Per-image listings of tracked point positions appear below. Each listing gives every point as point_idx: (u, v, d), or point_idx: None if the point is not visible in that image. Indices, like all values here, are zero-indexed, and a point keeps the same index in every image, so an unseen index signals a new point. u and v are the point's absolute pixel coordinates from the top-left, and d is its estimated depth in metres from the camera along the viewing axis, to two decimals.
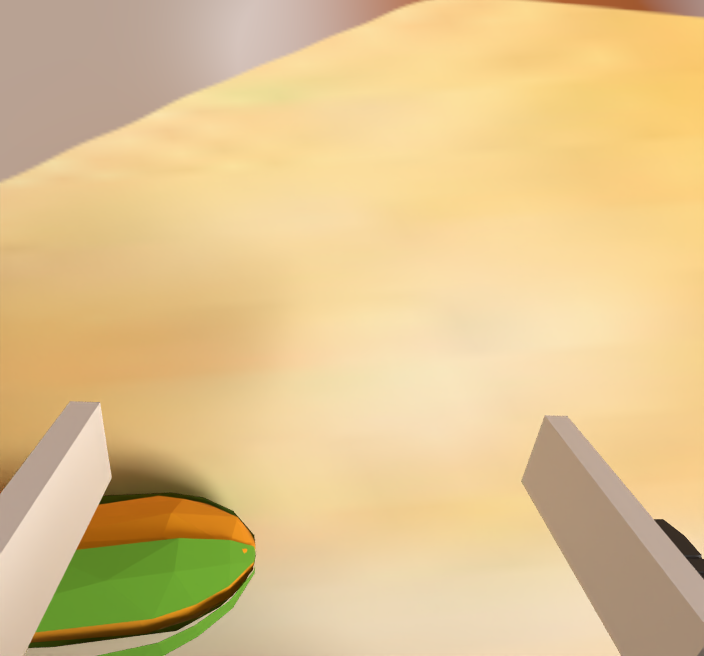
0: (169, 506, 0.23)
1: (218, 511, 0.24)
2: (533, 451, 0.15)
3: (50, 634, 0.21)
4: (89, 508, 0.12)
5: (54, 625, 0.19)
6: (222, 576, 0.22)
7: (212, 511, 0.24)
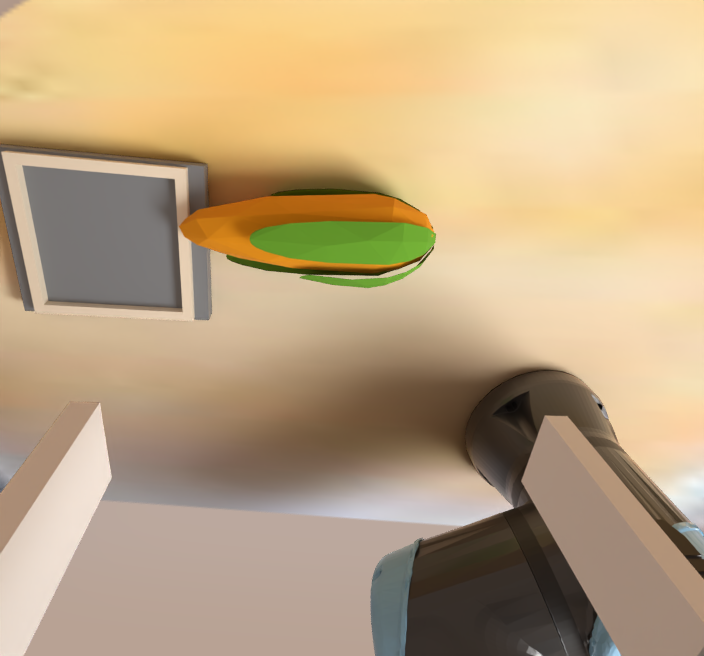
0: (388, 201, 0.35)
1: (415, 209, 0.36)
2: (533, 451, 0.15)
3: (323, 266, 0.36)
4: (89, 508, 0.12)
5: (337, 260, 0.34)
6: (422, 248, 0.36)
7: (412, 209, 0.36)
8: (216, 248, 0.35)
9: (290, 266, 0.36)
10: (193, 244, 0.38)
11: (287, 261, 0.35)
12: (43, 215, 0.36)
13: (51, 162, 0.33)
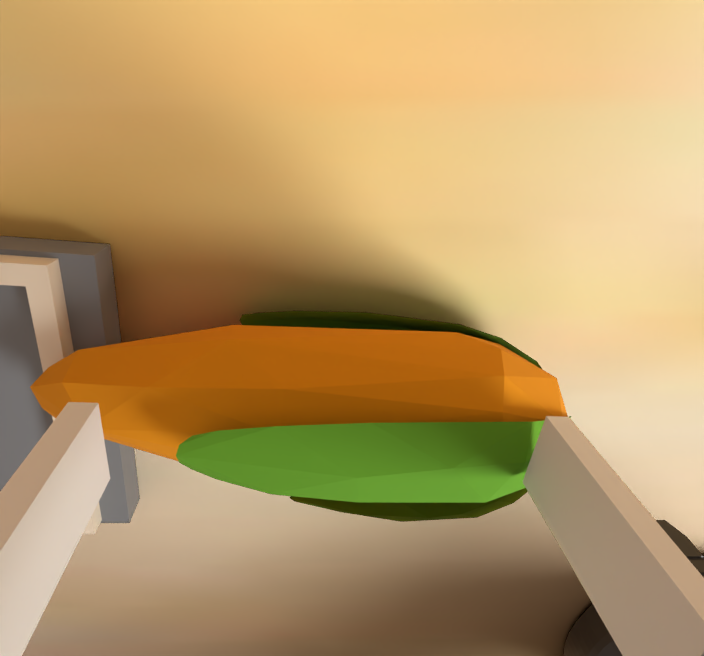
0: (491, 360, 0.16)
1: (537, 369, 0.18)
2: (534, 451, 0.15)
3: None
4: (87, 509, 0.12)
5: (378, 499, 0.15)
6: None
7: (534, 370, 0.17)
8: (110, 440, 0.16)
9: None
10: None
11: None
12: None
13: None
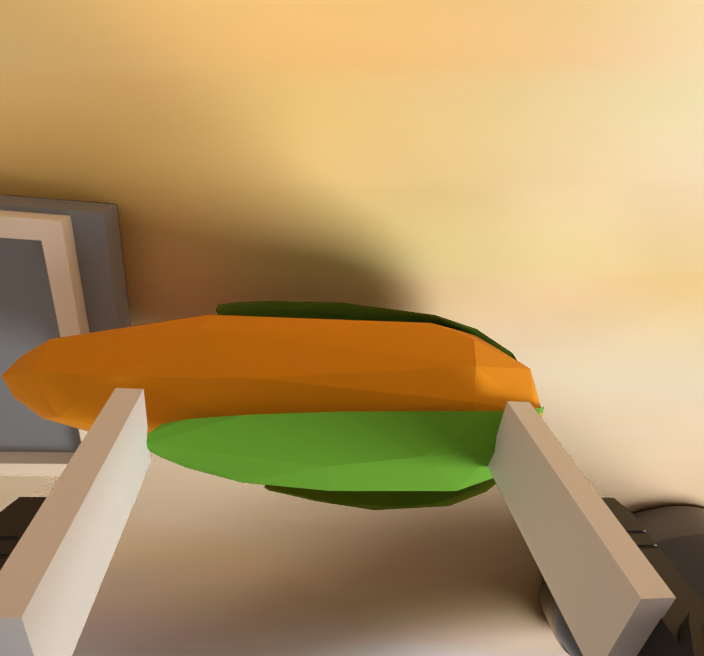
0: (463, 350, 0.17)
1: (510, 359, 0.18)
2: (497, 436, 0.15)
3: None
4: (134, 488, 0.13)
5: (349, 487, 0.15)
6: None
7: (507, 361, 0.17)
8: (83, 429, 0.16)
9: None
10: None
11: None
12: None
13: None
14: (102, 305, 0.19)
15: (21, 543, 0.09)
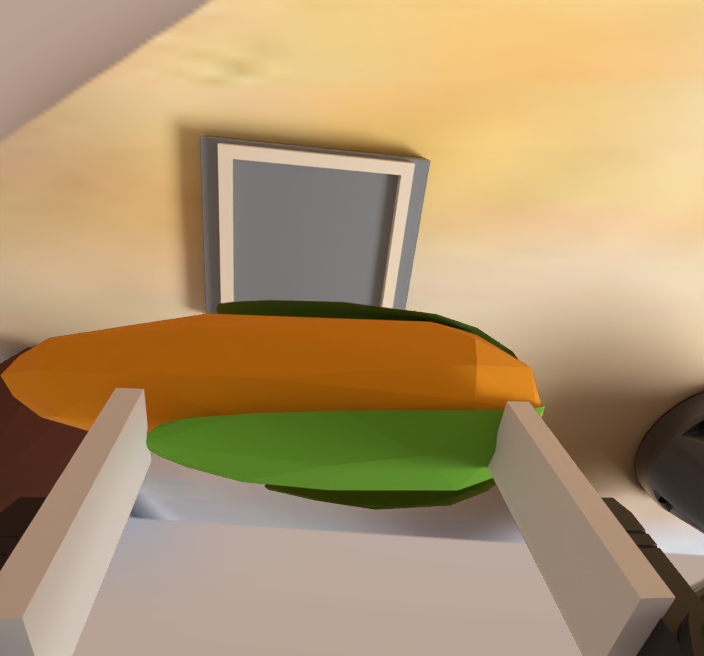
0: (464, 349, 0.16)
1: (511, 358, 0.18)
2: (497, 436, 0.15)
3: None
4: (134, 488, 0.13)
5: (349, 486, 0.15)
6: None
7: (508, 360, 0.17)
8: (82, 428, 0.16)
9: None
10: (401, 249, 0.34)
11: None
12: (245, 216, 0.32)
13: (270, 156, 0.29)
14: (413, 218, 0.33)
15: (21, 544, 0.09)
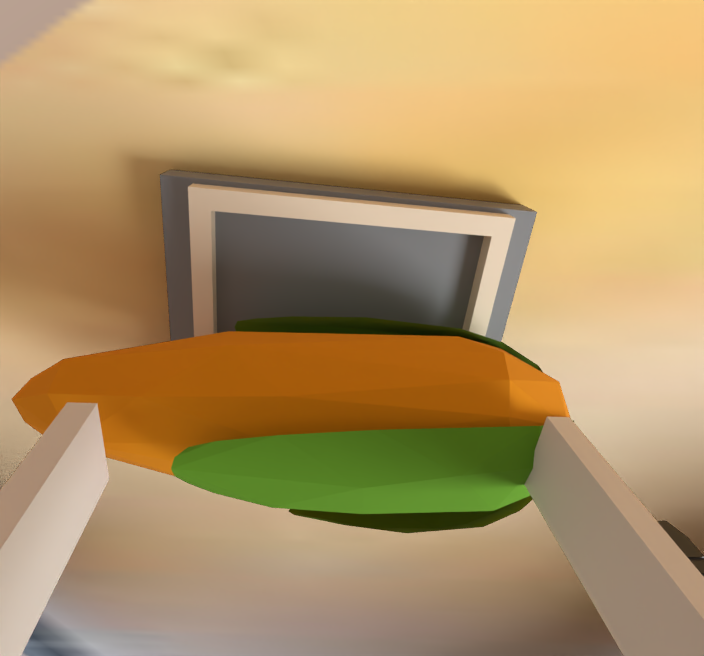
0: (494, 363, 0.16)
1: (540, 372, 0.17)
2: (535, 452, 0.15)
3: None
4: (86, 510, 0.12)
5: (383, 509, 0.14)
6: None
7: (537, 374, 0.17)
8: None
9: None
10: None
11: None
12: (236, 297, 0.20)
13: (277, 206, 0.17)
14: (501, 299, 0.21)
15: None
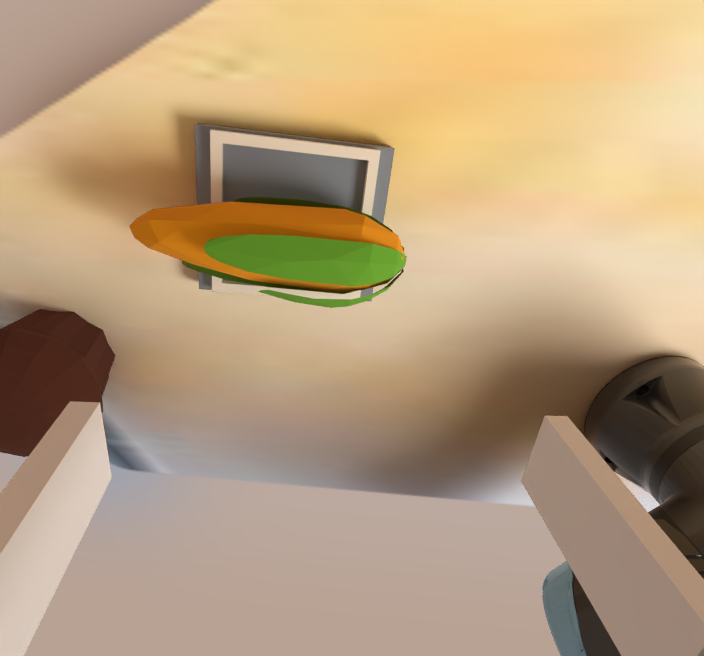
0: (358, 219, 0.33)
1: (386, 229, 0.34)
2: (533, 451, 0.15)
3: (283, 281, 0.34)
4: (89, 508, 0.12)
5: (298, 278, 0.32)
6: (391, 271, 0.34)
7: (384, 228, 0.34)
8: (169, 253, 0.32)
9: (248, 278, 0.34)
10: None
11: (245, 273, 0.33)
12: (233, 194, 0.36)
13: (255, 141, 0.34)
14: (380, 199, 0.38)
15: None
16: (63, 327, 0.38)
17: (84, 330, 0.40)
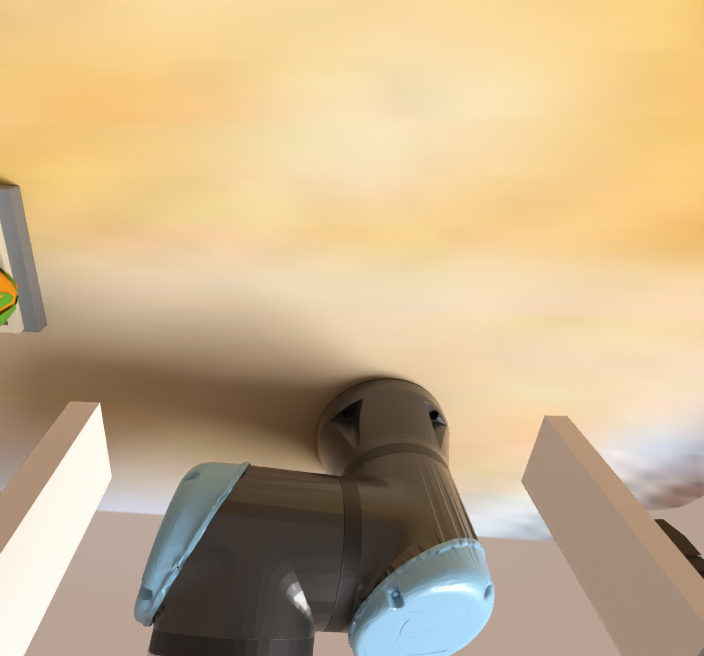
0: None
1: None
2: (533, 451, 0.15)
3: None
4: (89, 508, 0.12)
5: None
6: None
7: None
8: None
9: None
10: (11, 261, 0.40)
11: None
12: None
13: None
14: (12, 236, 0.39)
15: None
16: None
17: None
